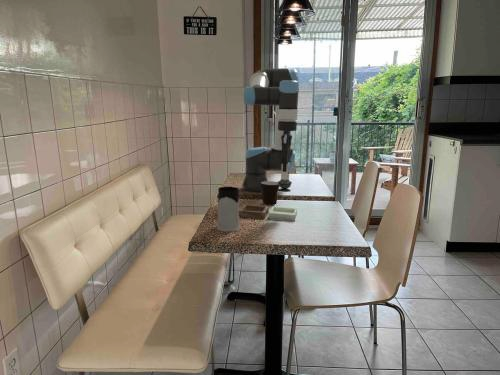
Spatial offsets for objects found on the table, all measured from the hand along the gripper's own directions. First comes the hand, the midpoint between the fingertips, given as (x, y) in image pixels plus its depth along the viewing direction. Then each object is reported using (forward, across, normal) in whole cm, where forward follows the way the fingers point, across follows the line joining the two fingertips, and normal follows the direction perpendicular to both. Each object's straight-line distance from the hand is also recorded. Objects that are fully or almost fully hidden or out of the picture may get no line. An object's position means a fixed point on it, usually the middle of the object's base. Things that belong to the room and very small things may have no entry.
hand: (284, 178), depth 155 cm
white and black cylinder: (+16, +18, -18) cm, 31 cm away
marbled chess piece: (+5, 0, 0) cm, 5 cm away
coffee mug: (+16, -22, -8) cm, 28 cm away
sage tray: (+16, 0, 0) cm, 16 cm away
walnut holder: (+16, 0, -12) cm, 21 cm away
